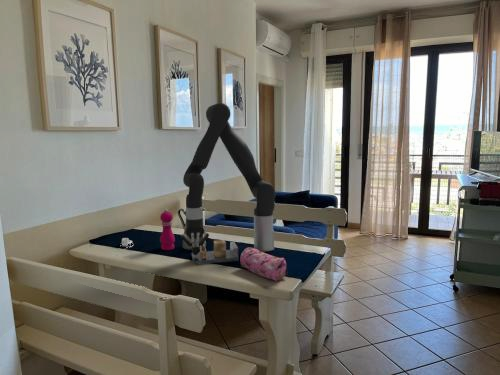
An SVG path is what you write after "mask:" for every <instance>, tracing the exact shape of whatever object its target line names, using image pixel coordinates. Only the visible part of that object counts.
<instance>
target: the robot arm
mask: <svg viewBox="0 0 500 375" xmlns="http://www.w3.org/2000/svg"><path fill="white" fill-rule="evenodd" d="M205 116H206V120H207V122H208V123H209V124H208V126H207V129H206V131H205V134H204V135H203V137H202V139H201V141H199V144H198V146H197V147H196V151H195V152H194V155H193V158H192V161H191V163H190V164H189V165H188V167H187V169H186V170H185V172H184V175H183V184H184V186H186V187H187V188H188V194H186V196H185V207H186V208H185V223H186V224H185V225H186V226H185V227H186V229H185V232H184V233H183V234H180V238H181V239H182V240H183V241H184V242H185V244H186V245H187V246H188V247H191V250H192V252H191V254H192V253H193V254H194V255H197V254H198V253H199V252H200V245H203V244H204V245H205V243H206V241H207V239H208V238H209V236H210V234H209V233H208V232H206V231H205V229H204V210H203V194H204V189H205V188H204V187H205V180H204V176H203V175H202V173H203V170H206V169H207V167H208V166H209V164H210V161H211V157H212V154H213V153H214V150H215V147H216V145H217V143H218V140H219V138H220V140H221V142H222V143H223V146H224V147H225V149H226V150H227V153H228V154H229V156H230V158H231V159H232V161H233V163H234V164H235V166H236V167H237V169H238V171H239V172H240V173H241V175H242V176H243V177H244V180H245V182H246V183H247V186H248V188H249V190H250V192H251V194H252V196H253V197H254V198H255V199H256V207H255V208H254V209H253V248H254V249H257V250H259V251H261V252H271V251H274V250H275V230H274V210H275V205H276V204H275V203H276V190H275V187H274V185H273V184H272V183H270V182H267V181H265V180H264V178H263V177H262V176H261V174H260V173H259V171H258V169H257V166H256V162H255V157H254V155H253V154H252V151H251V150H250V148H249V146H248V144H247V143H246V141H245V140H244V139H243V138H242V137H241V136H240V135H239V134H238V133H237V132H235V130H234V129H233V127H232V126H231V124H230V122H229V121H230V118H231V108H230V107H229V106H228V105H227V104H226V103H223V102H218V103H215V104H212V105H210V106H208V107H207V109H206V111H205ZM202 236H203V237H202ZM188 238H189V239H190V240H191V241H190V240H188ZM201 238H202V239H201ZM200 239H201V240H200Z"/></svg>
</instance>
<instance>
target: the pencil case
mask: <svg viewBox="0 0 500 375" xmlns="http://www.w3.org/2000/svg"><path fill="white" fill-rule="evenodd" d="M239 258H240V259H239V260H240V261H239V263H240V266H241V267H242V268H245V269H247V270H249V271H250V272H252V273H254V274H256V275H258V276H259V277H263V278H266V279H269V280H272V281H276V282H278V281H277V280H279V281H281V279H282V280H283V279H284V278H285V277H286V275H288V272H289V271H288V270H289V269H288V268H287V261H286V259H285V258H284V257H278V256H274V255H271V254H268V253H265V252H264V251H259V250H257V249H254V247H249V246H248V247H246V248H244V250H243V251H242V252H241V254H240V257H239Z"/></svg>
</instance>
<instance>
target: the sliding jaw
mask: <svg viewBox="0 0 500 375" xmlns="http://www.w3.org/2000/svg"><path fill="white" fill-rule="evenodd" d="M206 251H207V249H206V245H205V243H204V244H203V245H200V246H199V252H200V253H201V257H202V259H207V257H206Z"/></svg>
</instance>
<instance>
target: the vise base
mask: <svg viewBox="0 0 500 375" xmlns="http://www.w3.org/2000/svg"><path fill="white" fill-rule="evenodd" d="M229 242H230V243H229V249H226V256H219V257H215V255H214V250H208V251H207V250H206V257H207V259H202V257H201V253H200V251H199V253H198V254H197V255H194V254H193V253H192V252H191V258H192V264H193V265H202V264H203V265H204V264H216V263H229V262H240V261H239V260H240V259H239V258H240V257H239V247H238V245H237V244H236V243H235V241H229Z"/></svg>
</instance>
